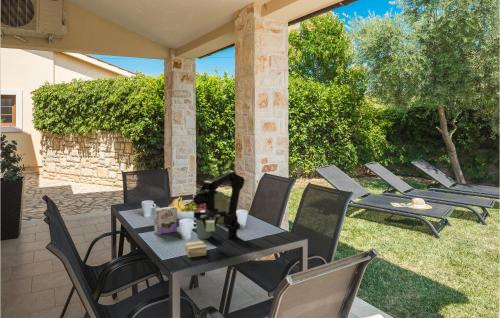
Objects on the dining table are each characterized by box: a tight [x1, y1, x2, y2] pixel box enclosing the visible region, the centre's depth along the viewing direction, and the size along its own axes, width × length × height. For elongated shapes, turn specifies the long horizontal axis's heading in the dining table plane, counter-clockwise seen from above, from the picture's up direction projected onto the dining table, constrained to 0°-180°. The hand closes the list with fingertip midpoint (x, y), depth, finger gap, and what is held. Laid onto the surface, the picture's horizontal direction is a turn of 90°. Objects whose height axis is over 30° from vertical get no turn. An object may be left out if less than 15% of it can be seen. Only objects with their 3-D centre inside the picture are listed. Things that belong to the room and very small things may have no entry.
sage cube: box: [205, 219, 216, 232], centre depth 201 cm, size 5×5×5 cm
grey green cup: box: [194, 216, 212, 240], centre depth 219 cm, size 10×10×12 cm
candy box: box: [153, 205, 178, 236], centre depth 227 cm, size 14×6×16 cm, turn 126°
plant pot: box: [213, 197, 230, 224], centre depth 252 cm, size 15×15×16 cm
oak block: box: [184, 240, 208, 258], centre depth 192 cm, size 10×10×5 cm
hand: (210, 228), depth 201 cm, fingers closed on sage cube, 5 cm apart
